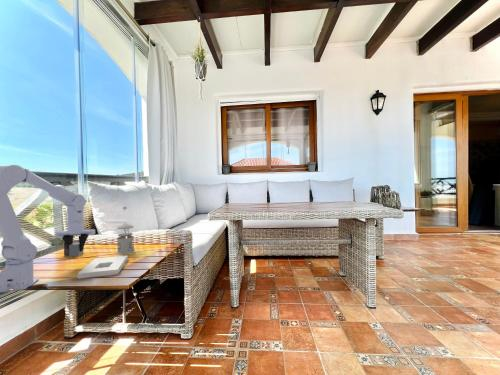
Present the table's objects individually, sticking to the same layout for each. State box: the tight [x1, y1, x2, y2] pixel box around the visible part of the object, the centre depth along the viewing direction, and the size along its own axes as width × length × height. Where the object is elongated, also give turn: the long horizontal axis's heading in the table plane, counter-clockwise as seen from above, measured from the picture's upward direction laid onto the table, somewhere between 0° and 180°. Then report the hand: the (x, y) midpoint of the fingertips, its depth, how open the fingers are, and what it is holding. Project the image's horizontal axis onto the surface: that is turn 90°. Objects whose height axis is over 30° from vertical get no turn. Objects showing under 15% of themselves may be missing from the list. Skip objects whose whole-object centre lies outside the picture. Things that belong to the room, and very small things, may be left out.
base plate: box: [77, 255, 129, 280], centre depth 103 cm, size 20×14×2 cm
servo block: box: [68, 242, 84, 257], centre depth 105 cm, size 5×4×5 cm
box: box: [63, 239, 79, 257], centre depth 125 cm, size 6×6×7 cm
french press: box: [115, 206, 136, 256], centre depth 129 cm, size 10×12×25 cm
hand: (76, 251), depth 105 cm, fingers closed on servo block, 3 cm apart
